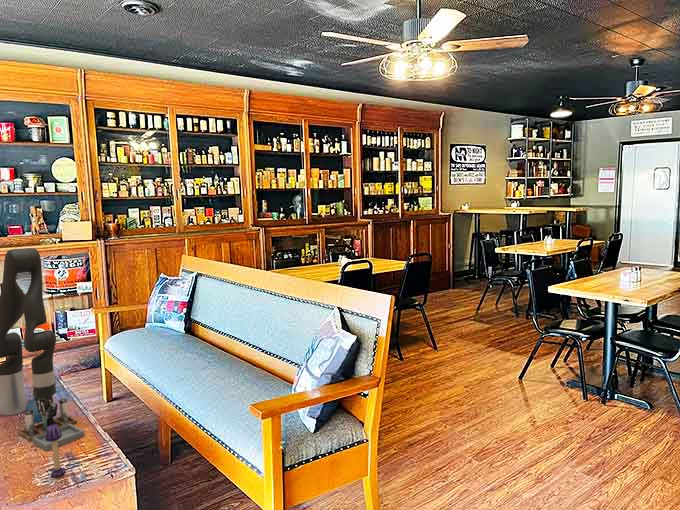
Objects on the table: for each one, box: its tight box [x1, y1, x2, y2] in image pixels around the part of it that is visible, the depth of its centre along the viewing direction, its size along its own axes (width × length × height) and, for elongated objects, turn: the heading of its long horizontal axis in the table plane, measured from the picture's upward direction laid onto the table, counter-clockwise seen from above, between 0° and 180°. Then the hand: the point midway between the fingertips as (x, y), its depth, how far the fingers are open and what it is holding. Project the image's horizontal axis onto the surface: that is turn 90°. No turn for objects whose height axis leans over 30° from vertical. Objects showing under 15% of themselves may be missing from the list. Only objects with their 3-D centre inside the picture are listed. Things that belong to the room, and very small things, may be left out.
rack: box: [17, 416, 78, 443], centre depth 197 cm, size 9×18×2 cm, turn 144°
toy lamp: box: [45, 424, 67, 479], centre depth 164 cm, size 5×5×17 cm
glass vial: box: [23, 410, 36, 437], centre depth 192 cm, size 3×3×10 cm
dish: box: [32, 424, 85, 452], centre depth 189 cm, size 11×14×2 cm
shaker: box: [41, 411, 49, 432], centre depth 197 cm, size 4×4×7 cm
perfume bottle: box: [25, 392, 49, 423], centre depth 206 cm, size 6×6×12 cm
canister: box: [58, 398, 70, 424], centre depth 202 cm, size 3×3×10 cm
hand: (48, 425), depth 197 cm, fingers closed on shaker, 3 cm apart
